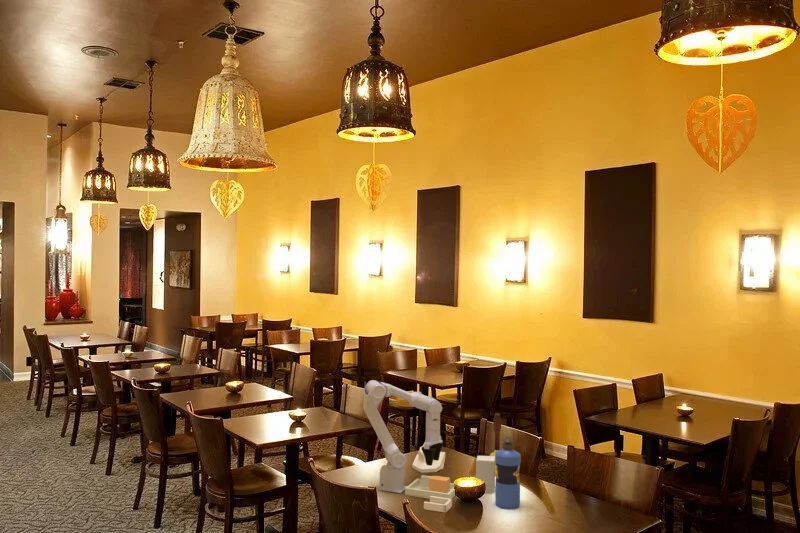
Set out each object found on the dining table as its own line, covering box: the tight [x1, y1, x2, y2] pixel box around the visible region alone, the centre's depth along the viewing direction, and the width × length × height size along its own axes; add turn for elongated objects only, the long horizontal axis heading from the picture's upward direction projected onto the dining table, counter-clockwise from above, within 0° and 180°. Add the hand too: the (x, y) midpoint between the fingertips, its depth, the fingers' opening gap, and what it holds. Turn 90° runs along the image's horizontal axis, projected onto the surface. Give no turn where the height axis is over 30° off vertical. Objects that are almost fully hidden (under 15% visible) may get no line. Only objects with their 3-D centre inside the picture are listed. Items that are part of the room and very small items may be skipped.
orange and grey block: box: [420, 474, 451, 493], centre depth 257 cm, size 11×4×6 cm, turn 67°
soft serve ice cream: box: [411, 442, 446, 474], centre depth 287 cm, size 12×15×14 cm
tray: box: [404, 477, 456, 500], centre depth 257 cm, size 18×13×3 cm
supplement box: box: [475, 455, 496, 494], centre depth 261 cm, size 7×7×13 cm
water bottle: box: [494, 436, 522, 510], centre depth 244 cm, size 9×9×25 cm
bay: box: [423, 496, 453, 514], centre depth 241 cm, size 8×8×2 cm
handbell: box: [489, 412, 502, 476], centre depth 286 cm, size 12×12×25 cm
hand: (432, 462), depth 265 cm, fingers open, 7 cm apart
